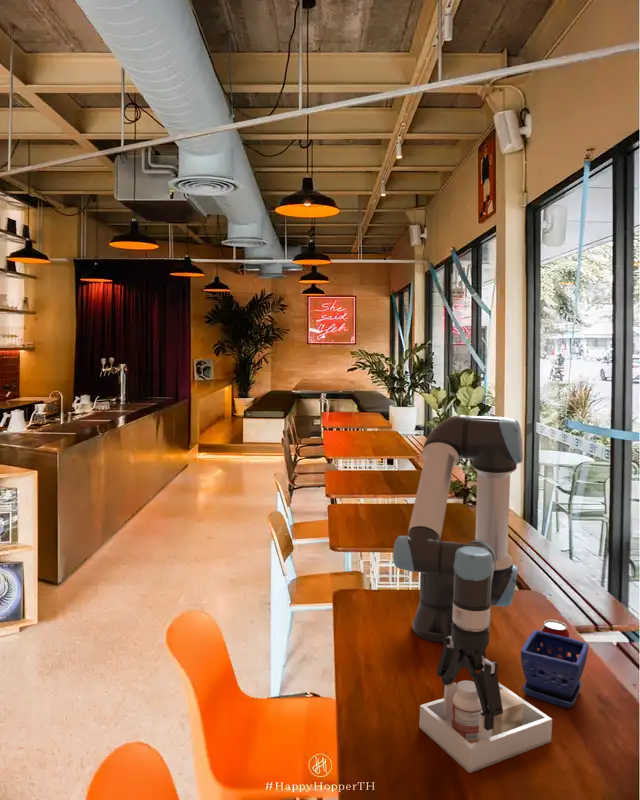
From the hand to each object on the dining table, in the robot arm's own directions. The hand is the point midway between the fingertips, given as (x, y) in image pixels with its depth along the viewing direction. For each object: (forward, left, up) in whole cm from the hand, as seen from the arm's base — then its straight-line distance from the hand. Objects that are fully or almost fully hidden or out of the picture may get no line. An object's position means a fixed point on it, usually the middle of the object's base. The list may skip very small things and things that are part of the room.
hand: (466, 727), depth 128 cm
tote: (0, +5, -3) cm, 6 cm away
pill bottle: (0, 0, -2) cm, 2 cm away
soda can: (-13, +40, -3) cm, 42 cm away
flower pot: (-5, +31, -3) cm, 32 cm away
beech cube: (0, +10, -2) cm, 10 cm away
